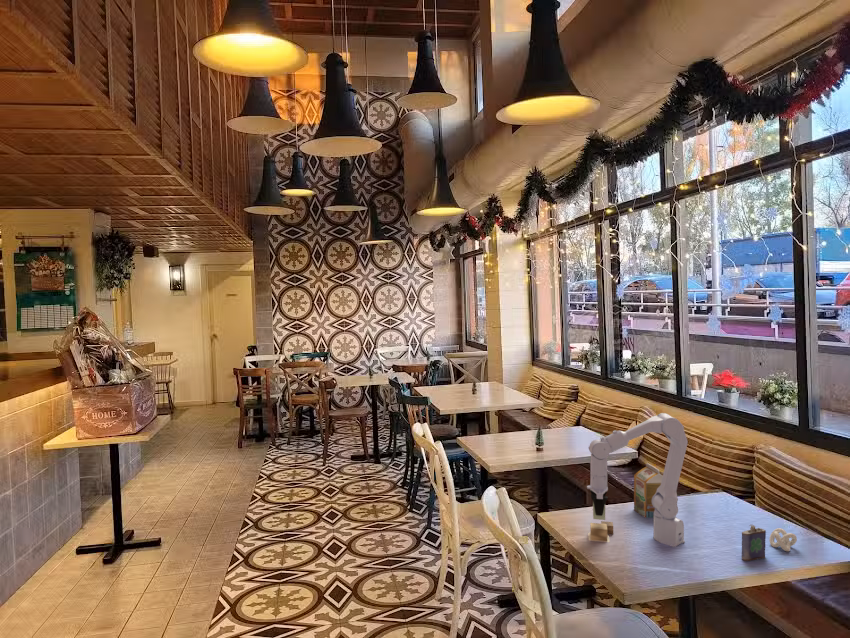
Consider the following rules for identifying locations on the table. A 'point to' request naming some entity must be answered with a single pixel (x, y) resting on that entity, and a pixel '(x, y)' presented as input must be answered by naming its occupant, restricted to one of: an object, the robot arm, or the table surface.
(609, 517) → the table surface
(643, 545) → the table surface
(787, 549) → the knot
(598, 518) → the sage block
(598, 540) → the build mat
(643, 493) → the milk carton
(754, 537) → the flask
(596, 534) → the oak block
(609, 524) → the walnut block
